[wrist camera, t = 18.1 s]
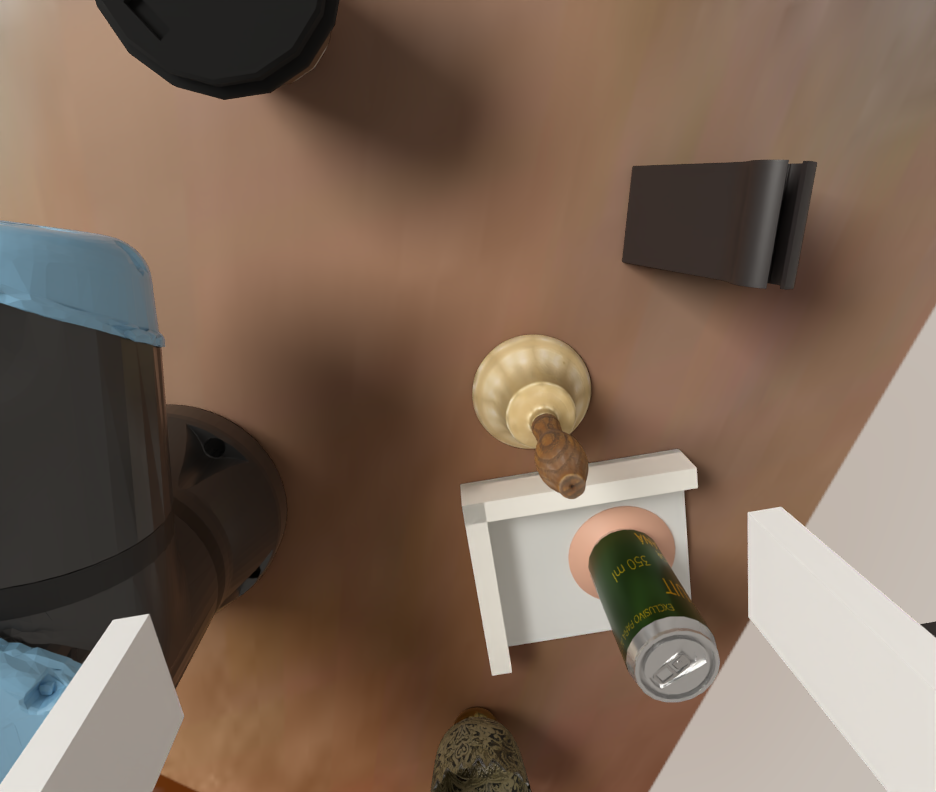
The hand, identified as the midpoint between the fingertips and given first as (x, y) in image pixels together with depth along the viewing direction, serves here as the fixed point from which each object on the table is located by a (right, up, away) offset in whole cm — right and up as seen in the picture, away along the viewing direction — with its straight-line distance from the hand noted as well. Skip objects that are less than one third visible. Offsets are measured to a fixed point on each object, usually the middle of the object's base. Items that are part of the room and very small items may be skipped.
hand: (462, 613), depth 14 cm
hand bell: (+4, +5, +32) cm, 32 cm away
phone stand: (+15, +16, +29) cm, 36 cm away
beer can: (+12, -7, +35) cm, 37 cm away
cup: (+1, -22, +40) cm, 45 cm away
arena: (+8, -7, +35) cm, 37 cm away
